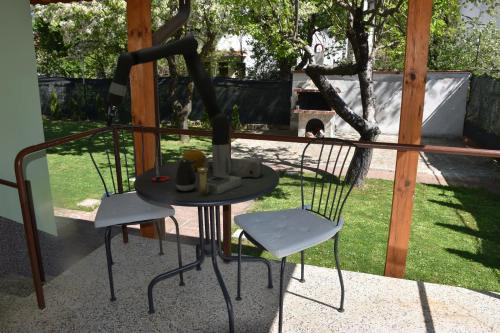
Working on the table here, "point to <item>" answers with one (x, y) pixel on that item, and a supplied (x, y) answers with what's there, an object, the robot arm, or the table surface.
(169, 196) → the table surface
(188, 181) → the dark grey ribbed bell
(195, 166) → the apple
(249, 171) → the stone
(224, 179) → the hitch plate
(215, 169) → the robot arm
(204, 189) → the gold cylinder
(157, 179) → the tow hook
